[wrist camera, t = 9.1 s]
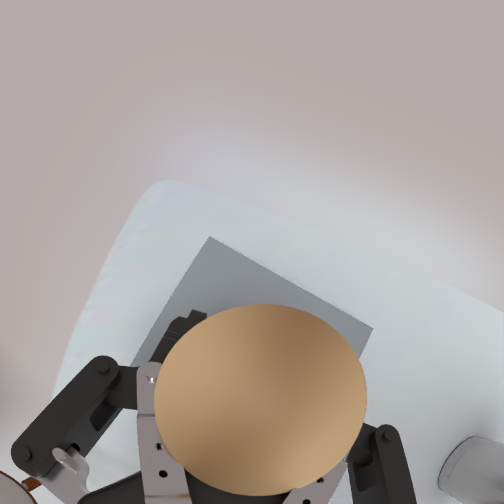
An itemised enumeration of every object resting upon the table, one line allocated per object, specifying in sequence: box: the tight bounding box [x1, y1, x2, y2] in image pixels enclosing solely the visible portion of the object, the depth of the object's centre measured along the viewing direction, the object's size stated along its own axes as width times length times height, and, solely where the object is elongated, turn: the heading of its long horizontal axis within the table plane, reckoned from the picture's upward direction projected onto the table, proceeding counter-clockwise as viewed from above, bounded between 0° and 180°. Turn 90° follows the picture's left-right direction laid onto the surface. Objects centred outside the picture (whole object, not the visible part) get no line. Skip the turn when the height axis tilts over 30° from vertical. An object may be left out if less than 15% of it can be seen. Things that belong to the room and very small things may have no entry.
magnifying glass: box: [0, 471, 42, 504], centre depth 11 cm, size 9×2×20 cm, turn 68°
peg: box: [154, 304, 367, 496], centre depth 13 cm, size 6×6×13 cm
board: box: [130, 236, 373, 367], centre depth 23 cm, size 16×14×5 cm
